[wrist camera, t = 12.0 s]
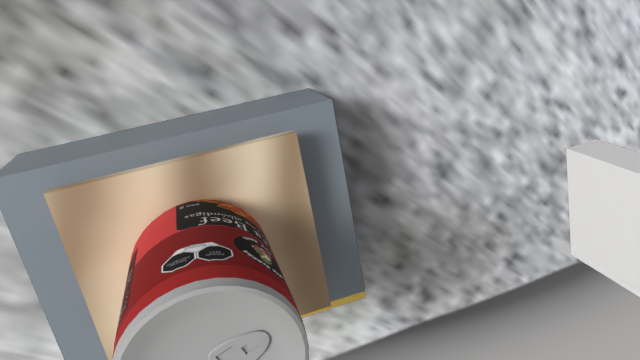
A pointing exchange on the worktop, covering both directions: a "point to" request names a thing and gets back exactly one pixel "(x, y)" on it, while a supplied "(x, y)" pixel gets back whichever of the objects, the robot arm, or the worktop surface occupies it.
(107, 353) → the pallet
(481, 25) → the worktop surface
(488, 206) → the worktop surface
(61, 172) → the dock
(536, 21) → the worktop surface
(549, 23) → the worktop surface
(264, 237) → the canned food
